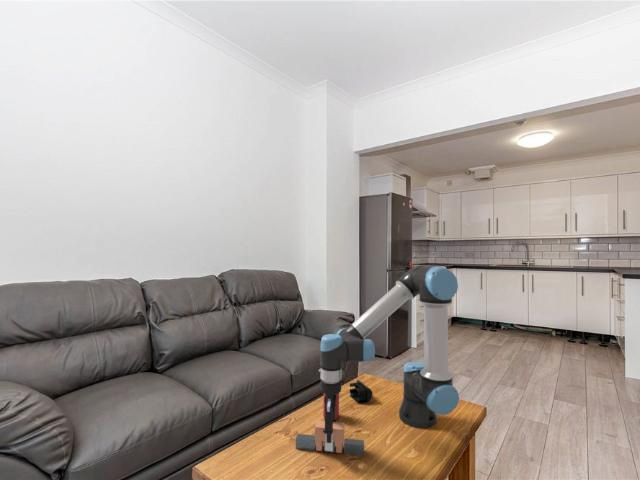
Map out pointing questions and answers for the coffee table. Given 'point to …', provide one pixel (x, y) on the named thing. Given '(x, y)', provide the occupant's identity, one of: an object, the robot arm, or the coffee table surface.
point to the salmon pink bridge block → (337, 435)
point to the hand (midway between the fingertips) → (329, 445)
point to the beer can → (335, 407)
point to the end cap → (360, 392)
